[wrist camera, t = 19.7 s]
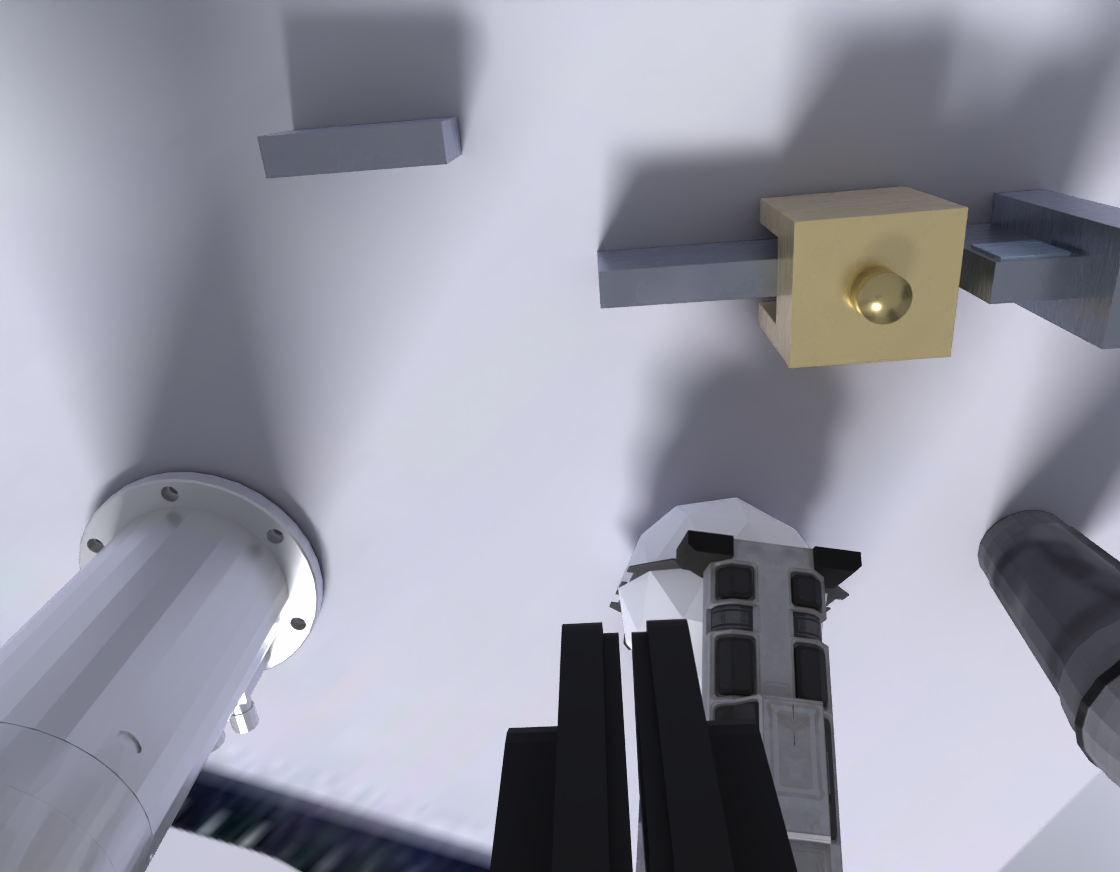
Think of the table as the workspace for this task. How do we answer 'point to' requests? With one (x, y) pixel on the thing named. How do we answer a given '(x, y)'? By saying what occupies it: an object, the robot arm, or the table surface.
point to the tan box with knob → (863, 276)
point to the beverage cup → (1064, 620)
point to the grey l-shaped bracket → (987, 272)
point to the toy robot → (753, 645)
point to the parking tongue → (360, 147)
